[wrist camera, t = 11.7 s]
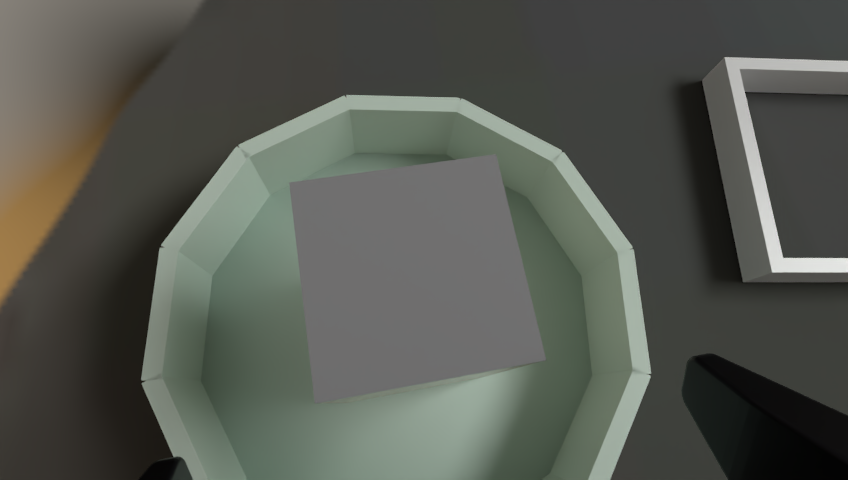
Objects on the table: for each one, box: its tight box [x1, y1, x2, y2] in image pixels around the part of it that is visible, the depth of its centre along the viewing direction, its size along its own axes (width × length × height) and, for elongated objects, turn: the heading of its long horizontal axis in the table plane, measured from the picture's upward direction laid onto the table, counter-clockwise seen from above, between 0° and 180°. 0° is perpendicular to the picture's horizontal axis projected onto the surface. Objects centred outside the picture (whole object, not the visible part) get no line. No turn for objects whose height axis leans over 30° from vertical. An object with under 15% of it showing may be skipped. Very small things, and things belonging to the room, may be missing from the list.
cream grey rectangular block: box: [289, 154, 546, 404], centre depth 16 cm, size 5×5×9 cm
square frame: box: [702, 57, 848, 282], centre depth 24 cm, size 10×10×2 cm
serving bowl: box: [141, 95, 651, 480], centre depth 19 cm, size 16×16×4 cm
